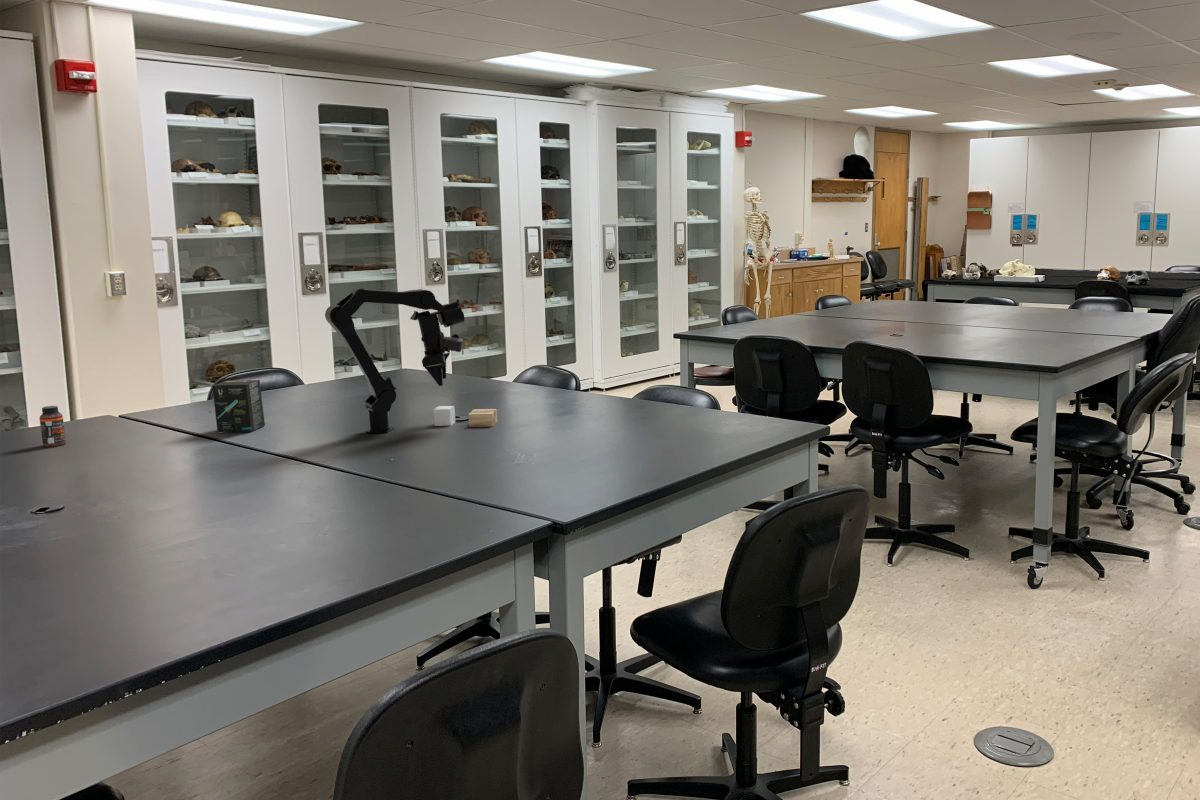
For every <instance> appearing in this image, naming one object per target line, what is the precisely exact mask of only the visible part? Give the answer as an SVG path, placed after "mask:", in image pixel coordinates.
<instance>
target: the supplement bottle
mask: <svg viewBox="0 0 1200 800" xmlns="http://www.w3.org/2000/svg"><path fill="white" fill-rule="evenodd" d="M41 411H42V413H41V415H39V425H40V426H39V427H40V434H41V438H42V439H41V440H42V445H43V447H47V448H53V446H54V447H59V446H60V445H61V446H63V444H64V445H65V444H66V443H67V439H66V436H67V435H66V430H65V424H64V422H65V421H64V416H63V414H62V413H61V412H60V411H59V407H58V405H48V406H42V408H41Z"/></svg>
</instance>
